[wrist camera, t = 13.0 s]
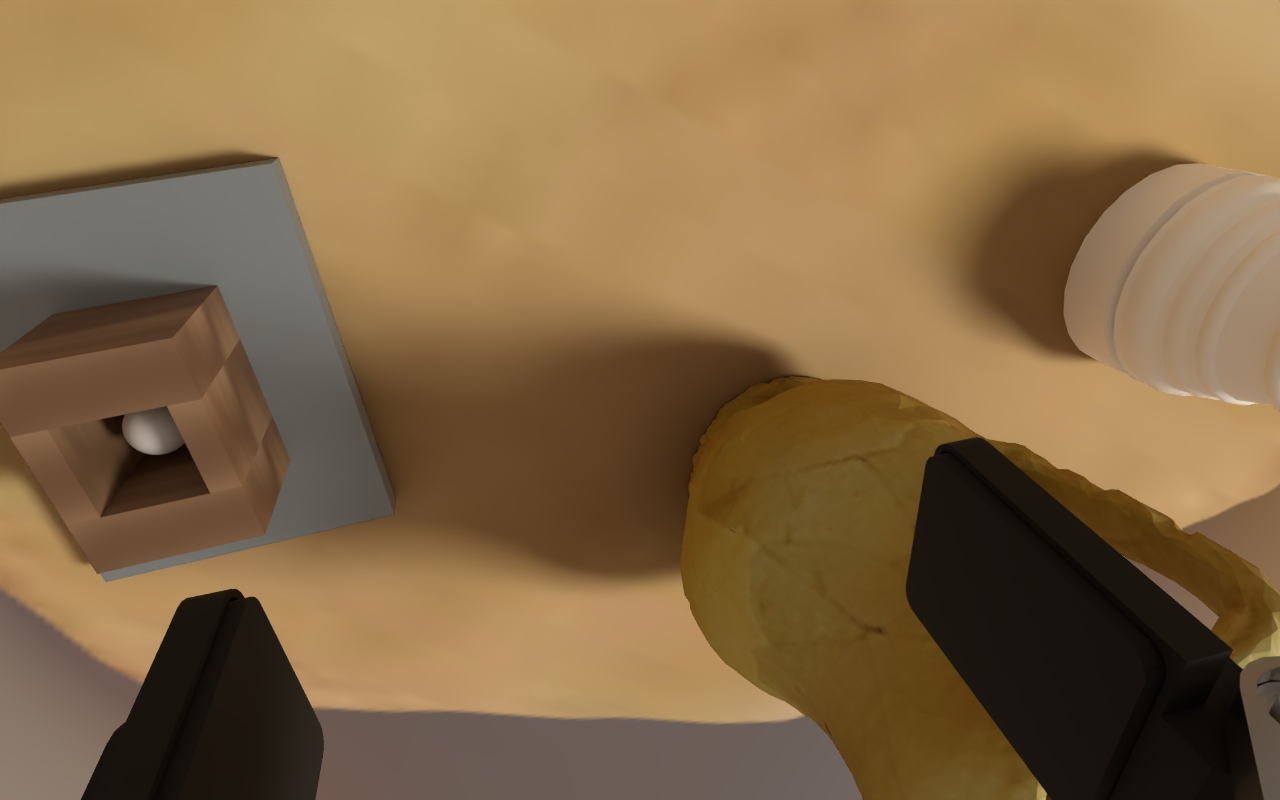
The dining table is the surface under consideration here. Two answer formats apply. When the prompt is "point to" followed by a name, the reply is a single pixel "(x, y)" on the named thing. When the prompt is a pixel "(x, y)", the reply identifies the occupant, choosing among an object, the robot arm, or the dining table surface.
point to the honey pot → (1185, 285)
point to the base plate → (256, 300)
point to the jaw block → (136, 381)
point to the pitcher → (889, 578)
